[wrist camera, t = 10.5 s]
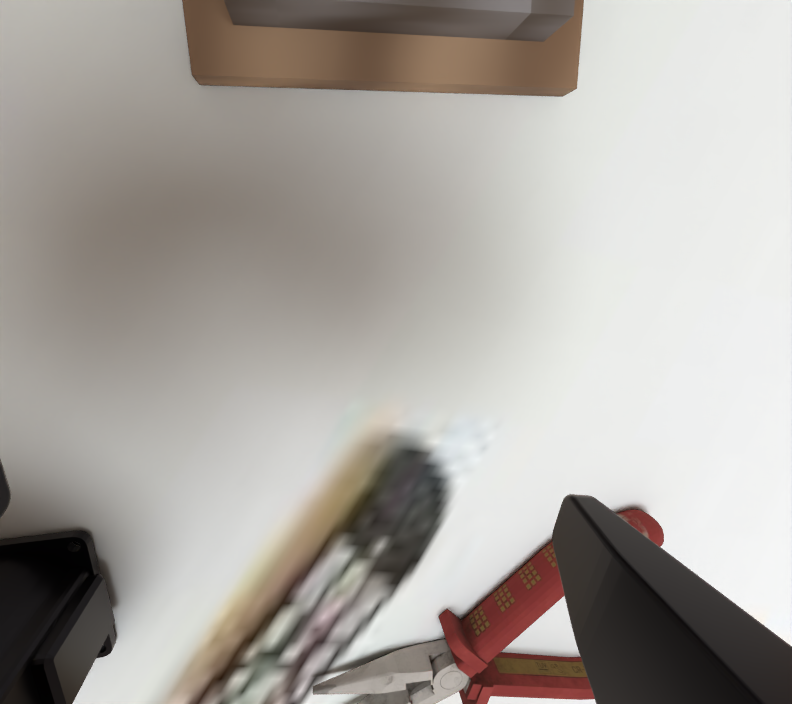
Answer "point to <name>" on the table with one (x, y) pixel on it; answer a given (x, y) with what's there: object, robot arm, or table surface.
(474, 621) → the pliers
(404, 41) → the socket board
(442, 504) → the table surface
